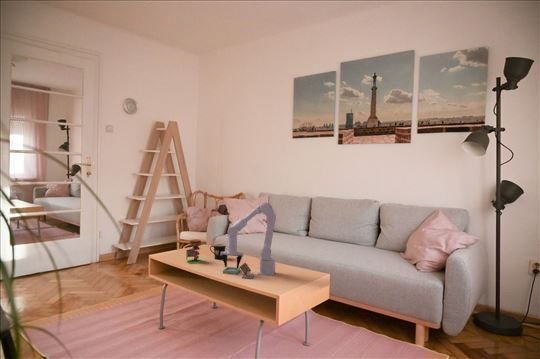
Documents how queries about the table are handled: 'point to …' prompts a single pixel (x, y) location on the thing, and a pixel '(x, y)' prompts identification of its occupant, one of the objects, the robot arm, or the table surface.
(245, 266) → the walnut ring block
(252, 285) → the table surface
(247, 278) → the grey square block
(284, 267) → the table surface
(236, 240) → the robot arm
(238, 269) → the tray
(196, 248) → the toy tree house
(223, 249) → the coffee mug
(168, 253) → the table surface
